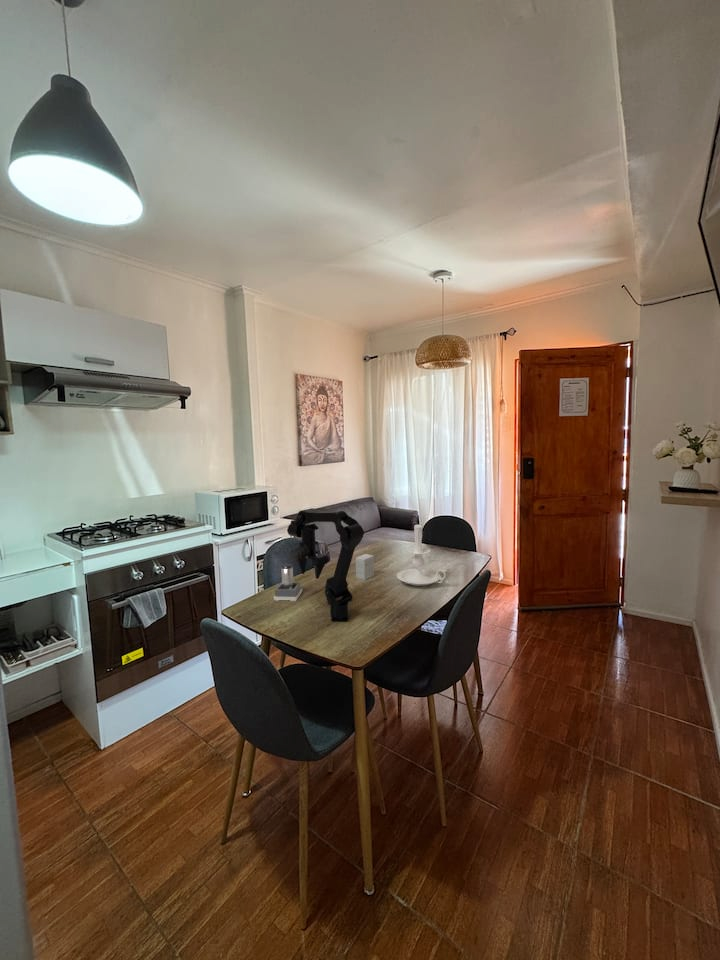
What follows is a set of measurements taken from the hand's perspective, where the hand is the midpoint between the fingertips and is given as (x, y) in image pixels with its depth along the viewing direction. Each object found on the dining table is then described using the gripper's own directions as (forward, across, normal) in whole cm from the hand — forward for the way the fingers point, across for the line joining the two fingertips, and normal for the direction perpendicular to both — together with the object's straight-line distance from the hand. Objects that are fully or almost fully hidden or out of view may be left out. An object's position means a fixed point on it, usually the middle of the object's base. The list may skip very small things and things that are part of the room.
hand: (310, 576), depth 166 cm
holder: (+13, -16, 0) cm, 21 cm away
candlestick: (+13, +21, +51) cm, 56 cm away
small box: (+13, -6, +39) cm, 42 cm away
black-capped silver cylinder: (+12, -16, 0) cm, 20 cm away
